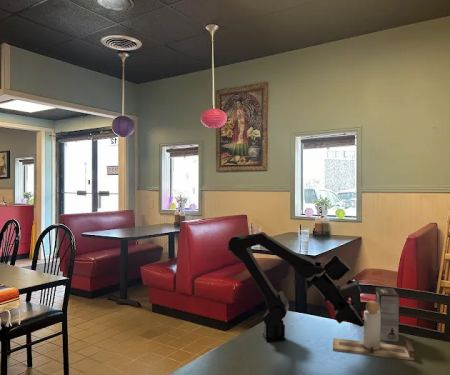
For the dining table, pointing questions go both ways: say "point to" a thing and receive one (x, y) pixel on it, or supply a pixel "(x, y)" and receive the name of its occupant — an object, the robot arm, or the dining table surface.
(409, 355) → the level stand
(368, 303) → the post
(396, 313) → the coffee box
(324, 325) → the dining table surface
